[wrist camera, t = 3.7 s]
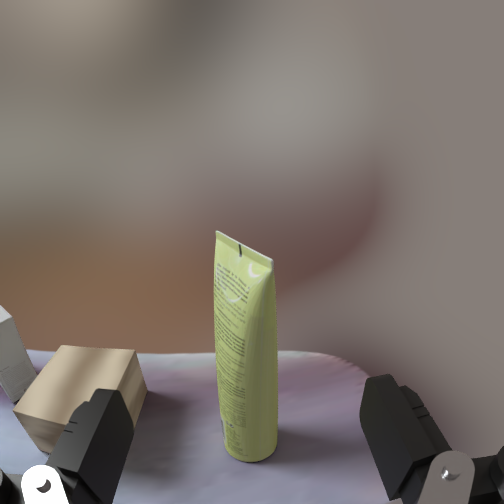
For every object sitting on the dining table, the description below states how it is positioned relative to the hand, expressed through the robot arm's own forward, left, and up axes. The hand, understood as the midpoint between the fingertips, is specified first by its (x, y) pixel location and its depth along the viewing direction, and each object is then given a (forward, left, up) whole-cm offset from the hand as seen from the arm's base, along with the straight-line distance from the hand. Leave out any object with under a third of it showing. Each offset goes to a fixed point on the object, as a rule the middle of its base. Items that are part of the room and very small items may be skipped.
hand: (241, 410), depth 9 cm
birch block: (-17, +13, -17) cm, 28 cm away
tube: (0, +11, -17) cm, 21 cm away
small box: (-32, +17, -17) cm, 40 cm away
